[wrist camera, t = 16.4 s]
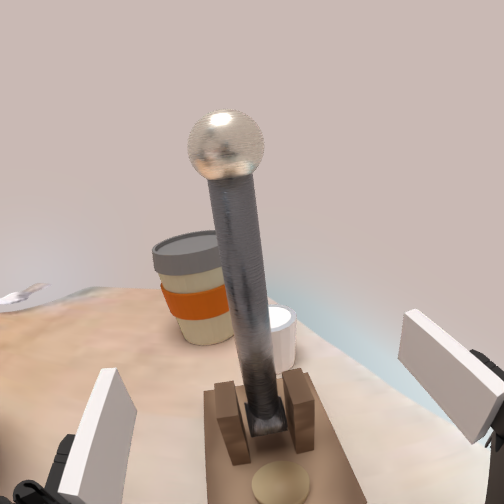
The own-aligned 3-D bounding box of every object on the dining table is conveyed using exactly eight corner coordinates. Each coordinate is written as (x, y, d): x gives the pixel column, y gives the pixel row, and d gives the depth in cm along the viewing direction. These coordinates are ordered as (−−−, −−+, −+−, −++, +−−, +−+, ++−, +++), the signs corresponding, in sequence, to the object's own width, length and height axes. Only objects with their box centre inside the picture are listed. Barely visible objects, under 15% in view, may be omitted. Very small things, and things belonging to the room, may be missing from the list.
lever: (247, 449, 21) (179, 111, 13) (241, 414, 25) (185, 118, 16) (295, 439, 21) (265, 99, 13) (285, 406, 25) (253, 109, 17)
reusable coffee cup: (165, 325, 51) (144, 243, 47) (229, 304, 56) (216, 225, 52) (185, 362, 41) (158, 263, 36) (262, 333, 46) (250, 238, 41)
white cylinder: (301, 375, 35) (298, 328, 33) (246, 379, 36) (237, 334, 34) (297, 344, 42) (294, 300, 40) (249, 348, 42) (242, 306, 40)
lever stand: (216, 541, 15) (182, 501, 13) (207, 402, 32) (189, 342, 30) (363, 510, 16) (384, 459, 14) (307, 384, 33) (305, 321, 31)
